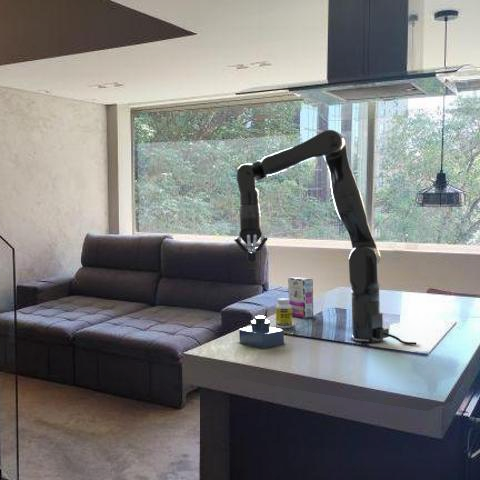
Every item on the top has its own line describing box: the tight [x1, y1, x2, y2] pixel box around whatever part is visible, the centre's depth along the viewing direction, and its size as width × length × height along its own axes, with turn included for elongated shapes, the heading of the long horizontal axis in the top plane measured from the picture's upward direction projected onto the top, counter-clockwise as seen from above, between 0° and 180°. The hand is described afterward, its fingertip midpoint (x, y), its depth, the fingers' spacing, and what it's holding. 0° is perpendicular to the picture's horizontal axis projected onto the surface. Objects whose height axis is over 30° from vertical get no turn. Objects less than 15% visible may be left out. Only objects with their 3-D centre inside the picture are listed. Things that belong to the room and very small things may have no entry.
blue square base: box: [238, 319, 285, 350], centre depth 209 cm, size 12×11×7 cm
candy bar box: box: [287, 276, 314, 319], centre depth 253 cm, size 11×5×16 cm, turn 24°
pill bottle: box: [275, 297, 293, 329], centre depth 234 cm, size 6×6×11 cm
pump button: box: [254, 315, 266, 323], centre depth 213 cm, size 4×4×2 cm
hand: (251, 262), depth 225 cm, fingers closed
